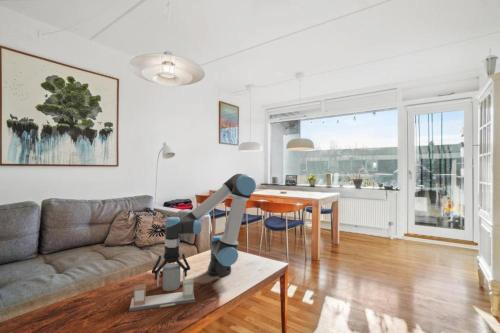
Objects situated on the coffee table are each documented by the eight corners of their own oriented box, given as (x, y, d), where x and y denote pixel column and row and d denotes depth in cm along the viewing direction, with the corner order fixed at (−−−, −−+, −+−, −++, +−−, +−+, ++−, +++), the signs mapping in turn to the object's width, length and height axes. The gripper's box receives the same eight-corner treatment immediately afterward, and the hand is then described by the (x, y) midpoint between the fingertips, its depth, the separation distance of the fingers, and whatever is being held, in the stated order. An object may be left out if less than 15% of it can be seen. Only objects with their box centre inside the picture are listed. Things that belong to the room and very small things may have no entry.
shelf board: (192, 292, 140) (192, 288, 140) (195, 304, 129) (195, 299, 129) (132, 300, 131) (132, 295, 131) (128, 314, 120) (128, 308, 119)
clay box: (145, 300, 129) (145, 284, 129) (144, 304, 126) (145, 288, 125) (134, 301, 128) (134, 285, 128) (133, 305, 124) (133, 289, 124)
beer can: (175, 294, 138) (175, 271, 138) (158, 291, 140) (159, 269, 140) (183, 285, 148) (183, 264, 147) (167, 283, 149) (168, 262, 149)
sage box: (192, 293, 137) (192, 278, 136) (193, 297, 133) (193, 282, 132) (182, 295, 135) (183, 279, 135) (183, 299, 131) (183, 283, 131)
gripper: (194, 242, 151) (193, 278, 151) (148, 244, 143) (147, 283, 143) (195, 246, 144) (194, 284, 144) (147, 249, 136) (146, 289, 136)
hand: (170, 283), depth 144 cm, fingers open, 13 cm apart
